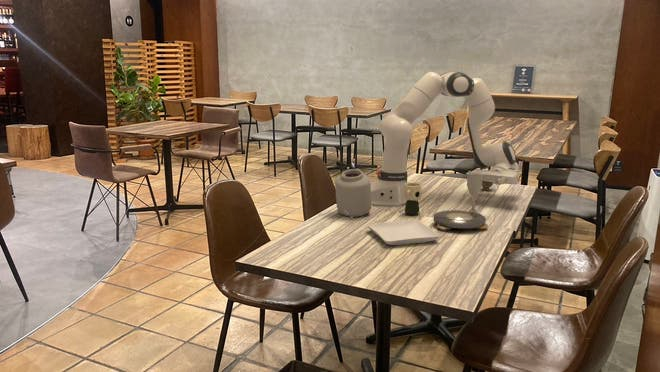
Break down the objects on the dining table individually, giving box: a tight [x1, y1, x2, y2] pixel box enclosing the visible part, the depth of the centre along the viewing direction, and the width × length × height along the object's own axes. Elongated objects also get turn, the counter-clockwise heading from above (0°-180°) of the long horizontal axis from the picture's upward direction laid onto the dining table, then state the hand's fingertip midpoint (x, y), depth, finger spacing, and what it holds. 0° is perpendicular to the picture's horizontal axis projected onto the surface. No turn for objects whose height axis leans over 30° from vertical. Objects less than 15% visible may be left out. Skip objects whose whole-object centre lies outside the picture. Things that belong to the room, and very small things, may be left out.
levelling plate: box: [433, 209, 489, 231], centre depth 219 cm, size 20×21×4 cm
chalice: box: [465, 171, 484, 213], centre depth 231 cm, size 7×7×18 cm
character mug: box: [404, 182, 422, 216], centre depth 234 cm, size 11×7×13 cm, turn 149°
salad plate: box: [366, 219, 441, 246], centre depth 205 cm, size 21×21×3 cm
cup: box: [481, 181, 494, 192], centre depth 276 cm, size 8×7×8 cm
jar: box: [334, 162, 373, 218], centre depth 231 cm, size 19×15×25 cm
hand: (486, 180), depth 239 cm, fingers open, 8 cm apart
